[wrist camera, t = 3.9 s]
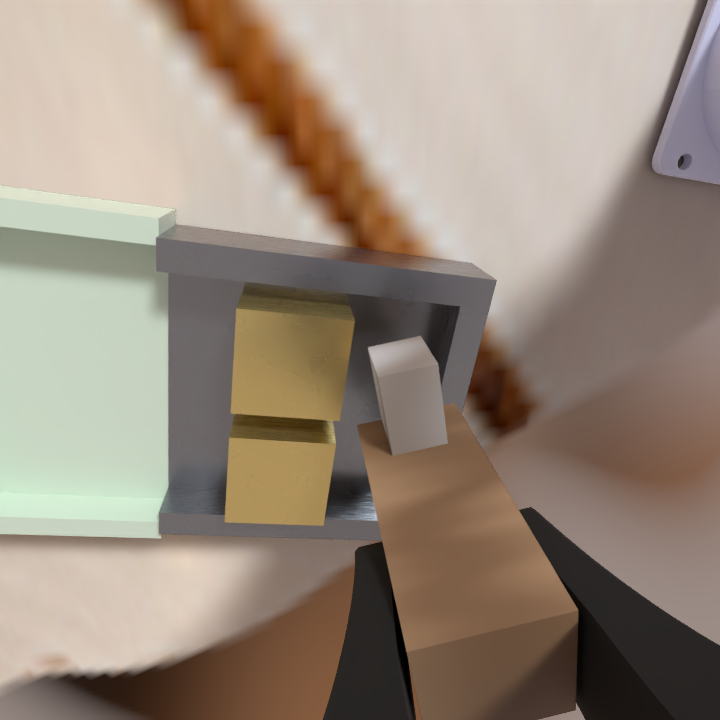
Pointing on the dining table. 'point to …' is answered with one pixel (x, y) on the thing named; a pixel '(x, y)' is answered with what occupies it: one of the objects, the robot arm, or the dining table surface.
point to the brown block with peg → (462, 558)
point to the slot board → (360, 404)
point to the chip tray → (82, 366)
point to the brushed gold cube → (291, 354)
